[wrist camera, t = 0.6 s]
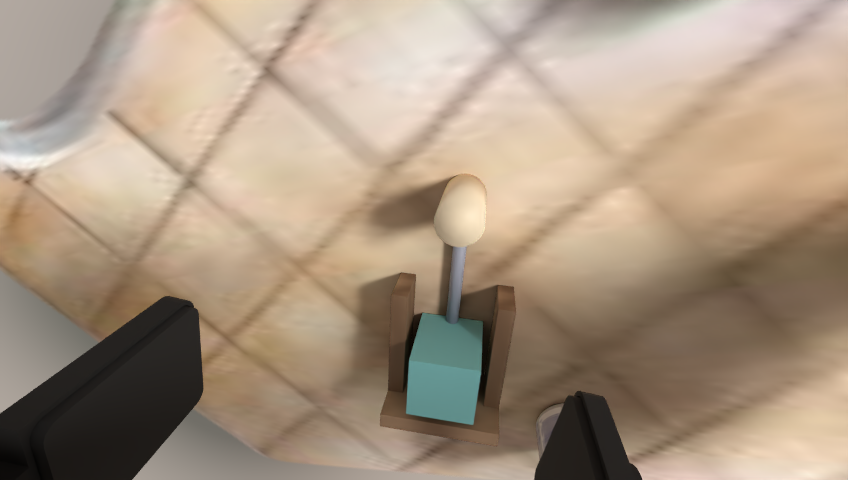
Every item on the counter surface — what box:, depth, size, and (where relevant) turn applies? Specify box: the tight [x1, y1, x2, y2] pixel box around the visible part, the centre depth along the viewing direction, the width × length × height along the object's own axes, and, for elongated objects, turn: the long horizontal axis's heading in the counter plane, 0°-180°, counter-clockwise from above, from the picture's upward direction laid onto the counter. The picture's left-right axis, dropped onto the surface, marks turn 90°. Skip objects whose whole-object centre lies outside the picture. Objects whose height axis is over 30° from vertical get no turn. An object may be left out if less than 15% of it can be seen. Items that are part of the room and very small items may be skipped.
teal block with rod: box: [406, 174, 487, 425], centre depth 29 cm, size 17×5×6 cm, turn 177°
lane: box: [380, 273, 516, 446], centre depth 31 cm, size 9×10×6 cm
